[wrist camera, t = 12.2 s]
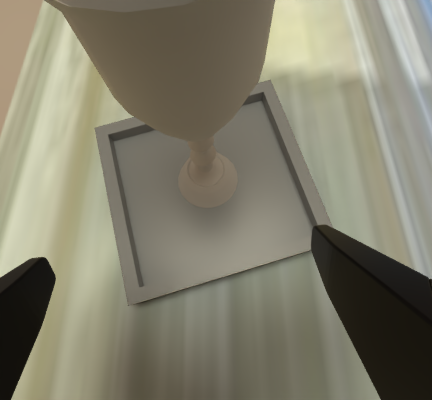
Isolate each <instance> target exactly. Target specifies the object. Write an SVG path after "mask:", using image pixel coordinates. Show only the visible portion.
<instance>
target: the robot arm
mask: <svg viewBox="0 0 432 400" xmlns="http://www.w3.org/2000/svg"><path fill="white" fill-rule="evenodd" d="M311 251H312V254H313V257H314V259H315V262H316V265H317V268H318V270H319V273H320V276H321V278H322V281H323V284H324V286H325V289H326V291H327V294H328V296H329V298H330V300H331V302H332V304H333V306H334V308H335V310H336V312H337V314H338V316H339V318H340V320H341V322H342V323H343V325H344V327H345V329H346V331H347V333H348V335H349V337H350V339H351V341H352V343H353V345H354V347H355V349H356V351H357V353H358V355H359V357H360V359H361V361H362V363H363V365H364V367H365V369H366V371H367V373H368V375H369V377H370V379H371V381H372V383H373V385H374V387H375V389H376V391H377V393H378V395H379V397H380V399H381V400H432V279H429V278H428V277H427V276H425V275H423V274H421V273H419V272H417V271H415V270H413V269H411V268H409V267H407V266H405V265H403V264H401V263H400V262H398V261H396V260H394V259H392V258H390V257H388V256H386V255H384V254H382V253H380V252H378V251H376V250H374V249H373V248H371V247H369V246H367V245H365V244H363V243H361V242H359V241H357V240H355V239H353V238H351V237H349V236H347V235H346V234H344V233H342V232H340V231H338V230H336V229H334V228H332V227H330V226H328V225H326V224H322V225H315V226H313V228H312V236H311ZM55 281H56V277H55V274H54V272H53V270H52V268H51V266H50V264H49V262H48V260H47V259H46V258H45V257H38V258H31V259H29V260H28V261H26V262H24V263H23V264H21V265H20V266H18V267H16V268H15V269H13V270H12V271H10V272H8V273H7V274H5V275H4V276H2V277H1V278H0V400H11V398H12V396H13V393H14V391H15V389H16V386H17V384H18V381H19V379H20V377H21V374H22V372H23V370H24V367H25V365H26V362H27V360H28V358H29V355H30V353H31V351H32V348H33V346H34V343H35V341H36V339H37V336H38V334H39V331H40V329H41V326H42V324H43V321H44V318H45V314H46V311H47V308H48V305H49V301H50V298H51V295H52V291H53V288H54V285H55Z"/></svg>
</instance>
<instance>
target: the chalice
mask: <svg viewBox="0 0 432 400" xmlns="http://www.w3.org/2000/svg"><path fill="white" fill-rule="evenodd" d="M45 1H46V2H48V3H49V4H51V5H52V6H54V7H55V8H57V9H58V10H60V11H61V12H62V13H63V15H64V17H65V18H66V20H67V21H68V23H69V25H70V26H71V28H72V30H73V31H74V33H75V34H76V36H77V38H78V39H79V41H80V43H81V44H82V46H83V47H84V49H85V51H86V52H87V54H88V56H89V57H90V59H91V61H92V62H93V64H94V65H95V67H96V69H97V70H98V72H99V74H100V75H101V77H102V78H103V80H104V82H105V83H106V85H107V87H108V88H109V90H110V91H111V93H112V95H113V96H114V98H115V99H116V100H117V101H118V102H119V103H120V104H121V105H122V106H123V108H124V109H125V110H126V111H127V112H128V113H129V114H131V115H132V116H134V117H136V118H137V119H139V120H140V121H142V122H144V123H145V124H147V125H148V126H150V127H152V128H153V129H155V130H157V131H159V132H161V133H163V134H165V135H168V136H171V137H175V138H178V139H182V140H185V141H188V146H189V148H190V149H191V152H190V157H189V158H188V160H187V161H186V162H185V164H184V165H183V167H182V168H181V170H180V173H179V177H178V185H179V189H180V191H181V194H182V195H183V197H184V198H185V199H186V200H187V201H188V202H190V203H191V204H193V205H195V206H197V207H202V208H212V207H217V206H219V205H222V204H224V203H225V202H226V201H227V200H229V199H230V198H231V197H232V195H233V193H234V192H235V190H236V187H237V183H238V177H237V171H236V169H235V167H234V165H233V164H232V163H231V162H230V160H229V159H228V158H226V157H224V156H223V155H221V154H219V153H218V152H216V149H215V147H214V146H213V143H214V137H213V135H214V134H215V133H216V132H218V131H219V130H220V129H221V128H222V127H223V126H225V125H226V124H227V123H228V122H229V121H230V120H232V119H233V117H234V116H235V114H236V113H237V112H238V110H239V109H240V108H241V106H242V105H243V103H244V102H245V100H246V99H247V97H248V96H249V95H250V93H251V92H252V90H253V89H254V87H255V86H256V84H257V83H258V81H259V78H260V75H261V71H262V68H263V65H264V61H265V55H266V49H267V44H268V38H269V32H270V26H271V20H272V15H273V9H274V3H275V0H45Z"/></svg>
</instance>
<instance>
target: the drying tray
mask: <svg viewBox="0 0 432 400" xmlns="http://www.w3.org/2000/svg"><path fill="white" fill-rule="evenodd" d="M95 132H96V138H97V143H98V148H99V154H100V159H101V164H102V169H103V175H104V180H105V185H106V191H107V196H108V201H109V206H110V212H111V217H112V222H113V228H114V233H115V238H116V243H117V249H118V254H119V259H120V265H121V270H122V275H123V280H124V286H125V291H126V296H127V302H128V306H130V305H133V304H137V303H140V302H144V301H147V300H150V299H153V298H157V297H160V296H163V295H166V294H170V293H173V292H176V291H180V290H183V289H186V288H189V287H193V286H196V285H199V284H202V283H206V282H209V281H212V280H215V279H219V278H222V277H225V276H229V275H232V274H235V273H238V272H242V271H245V270H248V269H251V268H255V267H258V266H261V265H264V264H268V263H271V262H274V261H277V260H281V259H284V258H287V257H291V256H294V255H297V254H300V253H304V252H307V251H310V250H311V236H312V228H313V226H315V225H322V224H326V225H328V226H330V227H332V224H331V222H330V219H329V217H328V215H327V212H326V210H325V208H324V205H323V203H322V201H321V198H320V196H319V193H318V191H317V189H316V186H315V184H314V182H313V179H312V177H311V174H310V172H309V170H308V167H307V165H306V163H305V160H304V158H303V155H302V153H301V151H300V148H299V146H298V144H297V141H296V139H295V136H294V134H293V132H292V129H291V127H290V125H289V122H288V120H287V118H286V115H285V113H284V110H283V108H282V106H281V103H280V101H279V99H278V96H277V94H276V91H275V89H274V87H273V84H272V82H271V80H268V81H264V82H260V83H257V84H256V86H255V87H254V89H253V90H252V92H251V93H250V95H249V96H248V97H247V99H246V100H245V102H244V103H243V105H242V106H241V108H240V109H239V110H238V112H237V113H236V114H235V116H234V117H233V119H232V120H230V121H229V122H228V123H227V124H226V125H225V126H223V127H222V128H221V129H220V130H219V131H218V132H216V133H215V134H214V135H213V137H214V143H213V146H214V147H215V149H216V152H218V153H219V154H221V155H223V156H224V157H226V158H228V159H229V160H230V162H231V163H232V164H233V165H234V167H235V169H236V171H237V177H238V183H237V187H236V190H235V192H234V193H233V195H232V197H231V198H230V199H229V200H227V201H226V202H225V203H224V204H222V205H219V206H217V207H212V208H202V207H197V206H195V205H193V204H191V203H190V202H188V201H187V200H186V199H185V198H184V197H183V195H182V194H181V191H180V189H179V185H178V177H179V173H180V170H181V168H182V167H183V165H184V164H185V162H186V161H187V160H188V158H189V157H190V152H191V149H190V148H189V146H188V141H185V140H182V139H178V138H175V137H171V136H168V135H165V134H163V133H161V132H159V131H157V130H155V129H153V128H152V127H150V126H148V125H147V124H145V123H144V122H142V121H140V120H139V119H137V118H136V117H132V118H129V119H125V120H121V121H118V122H114V123H111V124H107V125H103V126H100V127H96V128H95ZM332 228H333V227H332Z"/></svg>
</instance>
